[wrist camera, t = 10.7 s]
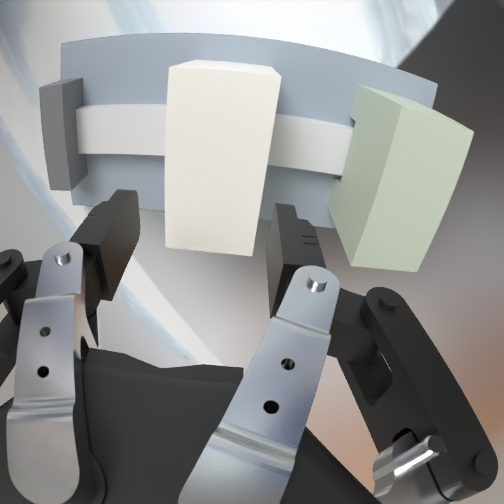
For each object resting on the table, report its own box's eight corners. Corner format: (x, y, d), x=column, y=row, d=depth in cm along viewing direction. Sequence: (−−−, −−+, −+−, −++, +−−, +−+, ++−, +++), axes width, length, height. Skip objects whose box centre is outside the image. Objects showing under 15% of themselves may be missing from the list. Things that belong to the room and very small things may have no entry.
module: (187, 189, 24) (165, 247, 18) (196, 59, 18) (168, 67, 12) (251, 196, 24) (252, 256, 18) (271, 66, 18) (281, 76, 12)
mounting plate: (80, 196, 26) (31, 257, 18) (71, 42, 17) (-4, 55, 10) (383, 226, 28) (421, 294, 21) (428, 80, 19) (499, 109, 12)
